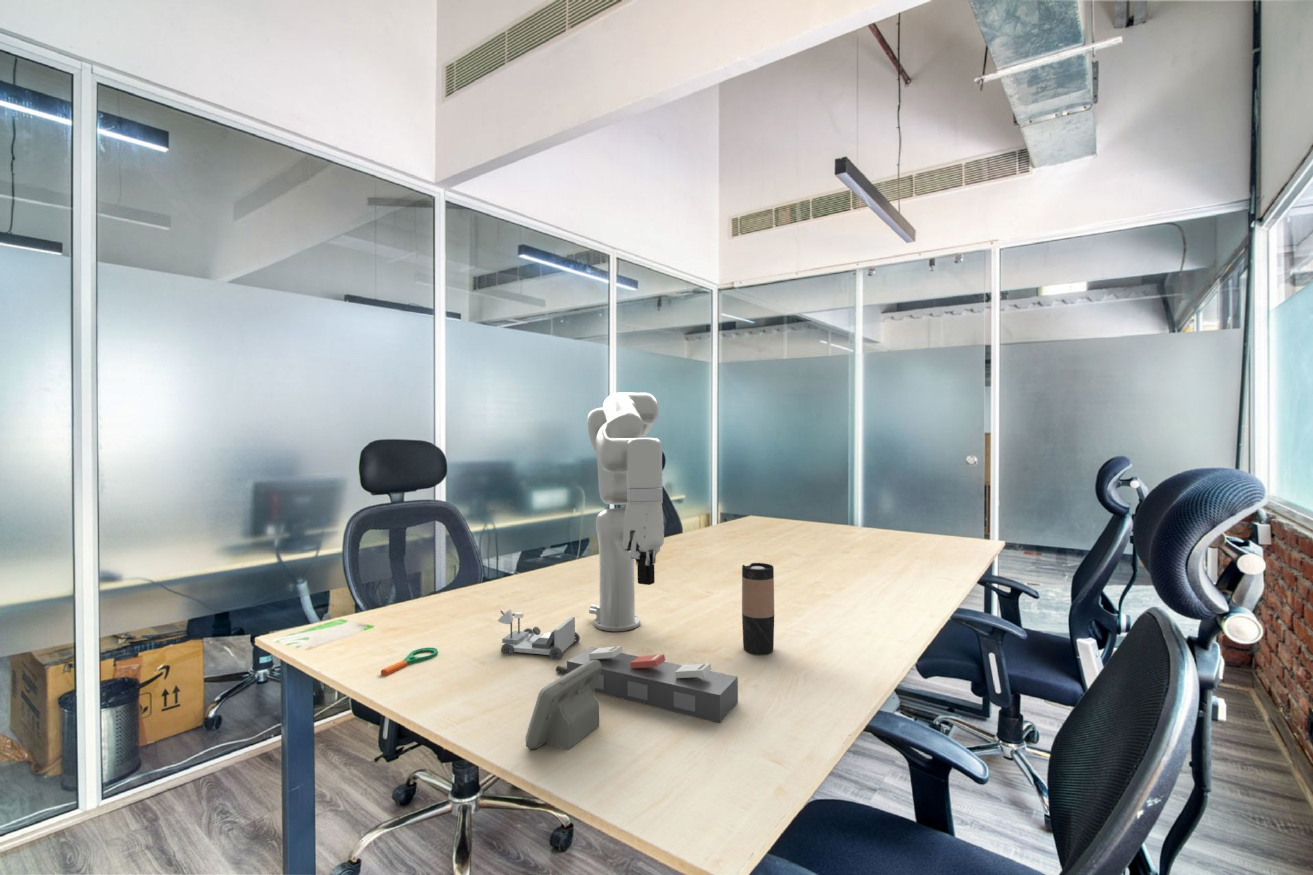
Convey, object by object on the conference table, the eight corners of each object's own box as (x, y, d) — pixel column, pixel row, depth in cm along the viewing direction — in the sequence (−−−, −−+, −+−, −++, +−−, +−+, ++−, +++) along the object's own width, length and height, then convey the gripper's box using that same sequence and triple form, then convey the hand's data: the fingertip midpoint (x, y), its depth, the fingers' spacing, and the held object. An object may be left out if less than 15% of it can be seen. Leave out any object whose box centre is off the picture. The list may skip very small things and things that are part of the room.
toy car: (490, 613, 138) (514, 600, 149) (490, 654, 138) (514, 638, 149) (560, 619, 133) (579, 604, 145) (561, 661, 134) (579, 644, 145)
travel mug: (774, 656, 135) (774, 570, 135) (741, 654, 136) (740, 569, 136) (774, 644, 142) (774, 563, 142) (743, 642, 144) (742, 562, 144)
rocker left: (590, 659, 120) (588, 653, 121) (599, 653, 124) (598, 647, 124) (613, 657, 118) (612, 651, 118) (622, 651, 121) (621, 645, 121)
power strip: (543, 679, 123) (543, 656, 123) (570, 664, 131) (569, 642, 131) (719, 723, 103) (719, 695, 103) (737, 702, 112) (737, 676, 112)
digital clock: (584, 708, 110) (583, 652, 110) (618, 723, 104) (617, 664, 104) (512, 743, 97) (511, 680, 97) (546, 762, 92) (545, 695, 91)
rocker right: (676, 678, 111) (674, 671, 111) (684, 671, 114) (682, 664, 114) (704, 676, 108) (702, 669, 108) (711, 669, 111) (710, 662, 111)
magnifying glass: (423, 651, 141) (423, 644, 141) (443, 654, 139) (443, 647, 139) (373, 675, 127) (373, 667, 127) (394, 679, 124) (394, 671, 124)
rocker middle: (631, 668, 116) (629, 661, 116) (640, 662, 119) (639, 655, 119) (656, 666, 113) (655, 659, 113) (665, 660, 116) (664, 653, 116)
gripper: (646, 493, 131) (648, 575, 130) (610, 498, 118) (611, 589, 117) (676, 494, 127) (677, 578, 127) (642, 499, 114) (643, 593, 114)
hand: (646, 583), depth 122 cm, fingers closed
